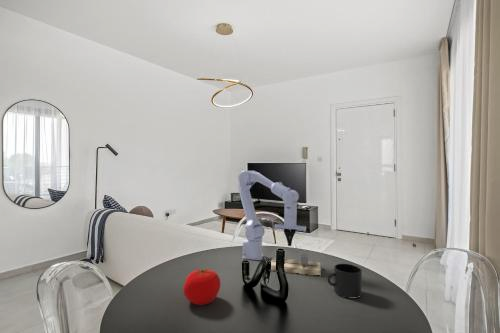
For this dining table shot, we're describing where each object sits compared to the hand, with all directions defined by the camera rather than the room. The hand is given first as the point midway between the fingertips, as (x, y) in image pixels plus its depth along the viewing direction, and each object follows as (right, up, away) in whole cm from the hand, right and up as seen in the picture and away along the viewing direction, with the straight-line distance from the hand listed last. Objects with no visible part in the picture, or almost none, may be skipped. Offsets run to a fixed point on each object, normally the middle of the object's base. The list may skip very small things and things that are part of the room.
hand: (289, 245), depth 123 cm
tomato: (-35, -9, -34) cm, 50 cm away
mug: (+16, -10, -26) cm, 32 cm away
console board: (+2, -9, -4) cm, 10 cm away
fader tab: (+6, -7, -5) cm, 10 cm away
